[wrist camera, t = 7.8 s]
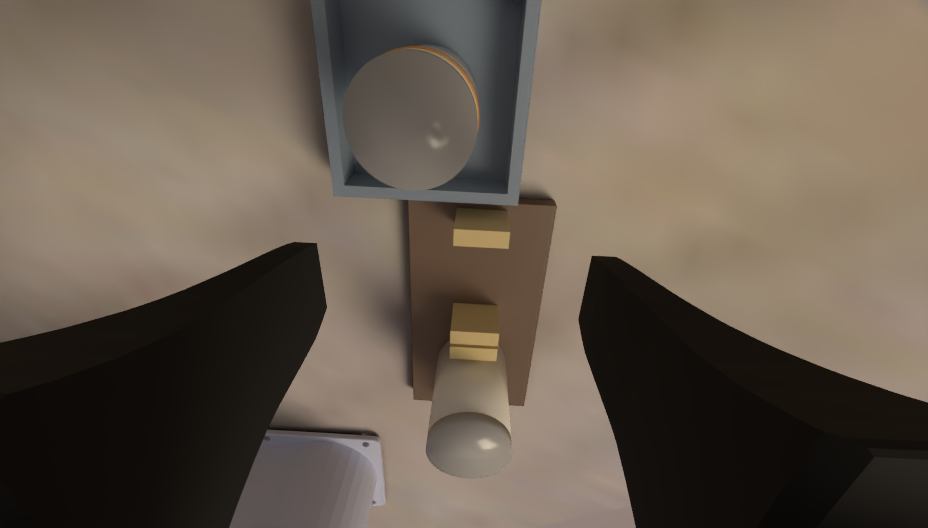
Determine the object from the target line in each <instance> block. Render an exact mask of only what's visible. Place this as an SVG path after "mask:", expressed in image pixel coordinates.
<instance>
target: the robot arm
mask: <svg viewBox="0 0 928 528" xmlns="http://www.w3.org/2000/svg"><path fill="white" fill-rule="evenodd" d="M326 309H327V305H326V298H325V292H324V286H323V280H322V273H321V267H320V261H319V255H318V249H317V243H301V242H293V243H289V244H286V245H284V246H281V247H279V248H276V249H274V250H272V251H270V252H267V253H265V254H263V255H261V256H259V257H257V258H254V259H252V260H250V261H248V262H246V263H244V264H242V265H240V266H237V267H235V268H233V269H231V270H229V271H227V272H224V273H222V274H220V275H217V276H215V277H213V278H211V279H208V280H206V281H204V282H201V283H199V284H197V285H194V286H192V287H190V288H187V289H185V290H182V291H180V292H177V293H175V294H172V295H169V296H167V297H164V298H161V299H159V300H156V301H153V302H150V303H147V304H144V305H141V306H138V307H135V308H132V309H129V310H126V311H123V312H119V313H116V314H112V315H109V316H105V317H102V318H98V319H95V320H91V321H88V322H84V323H81V324H77V325H74V326H70V327H66V328H62V329H59V330H54V331H50V332H46V333H42V334H38V335H33V336H29V337H25V338H20V339H15V340H11V341H6V342H1V343H0V528H366V526H367V522H368V518H369V513H370V509H371V506H382V505H384V504H385V501H386V492H385V481H384V470H383V459H382V448H381V440H380V439H379V438H378V437H376V436H367V435H351V434H334V433H317V432H300V431H284V430H267V429H268V427H269V425H270V423H271V421H272V419H273V416H274V414H275V412H276V410H277V408H278V407H279V405H280V403H281V401H282V399H283V398H284V396H285V394H286V392H287V390H288V388H289V387H290V385H291V383H292V381H293V379H294V378H295V376H296V374H297V372H298V370H299V369H300V367H301V365H302V363H303V361H304V359H305V358H306V356H307V354H308V352H309V350H310V348H311V346H312V345H313V343H314V341H315V339H316V336H317V334H318V331H319V329H320V326H321V323H322V320H323V317H324V315H325V312H326ZM578 320H579V325H580V331H581V336H582V341H583V346H584V350H585V354H586V357H587V360H588V363H589V365H590V368H591V371H592V374H593V377H594V380H595V382H596V385H597V388H598V391H599V393H600V396H601V399H602V402H603V404H604V407H605V410H606V413H607V415H608V418H609V421H610V424H611V427H612V430H613V433H614V436H615V440H616V443H617V447H618V451H619V455H620V459H621V463H622V467H623V471H624V476H625V480H626V484H627V489H628V493H629V498H630V502H631V507H632V511H633V516H634V521H635V525H636V528H928V403H927V402H924V401H920V400H917V399H914V398H910V397H907V396H904V395H900V394H897V393H894V392H891V391H888V390H885V389H882V388H880V387H877V386H874V385H871V384H868V383H865V382H862V381H859V380H856V379H853V378H850V377H847V376H845V375H842V374H839V373H837V372H834V371H831V370H829V369H826V368H823V367H821V366H818V365H816V364H813V363H811V362H808V361H806V360H803V359H801V358H799V357H796V356H794V355H791V354H789V353H786V352H784V351H782V350H779V349H777V348H775V347H773V346H770V345H768V344H766V343H764V342H761V341H759V340H757V339H755V338H753V337H751V336H749V335H747V334H745V333H743V332H741V331H739V330H737V329H735V328H733V327H731V326H729V325H727V324H725V323H723V322H721V321H719V320H718V319H716V318H714V317H712V316H711V315H709V314H707V313H705V312H704V311H702V310H700V309H698V308H697V307H695V306H693V305H692V304H690V303H688V302H687V301H685V300H683V299H682V298H680V297H679V296H677V295H675V294H674V293H672V292H671V291H669V290H668V289H666V288H665V287H663V286H661V285H660V284H658V283H657V282H655V281H654V280H652V279H651V278H649V277H648V276H646V275H645V274H643V273H642V272H640V271H639V270H637V269H636V268H634V267H633V266H631V265H629V264H628V263H626V262H624V261H623V260H621V259H619V258H617V257H606V256H592V258H591V263H590V267H589V272H588V277H587V282H586V286H585V291H584V296H583V300H582V305H581V310H580V314H579V319H578Z"/></svg>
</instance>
